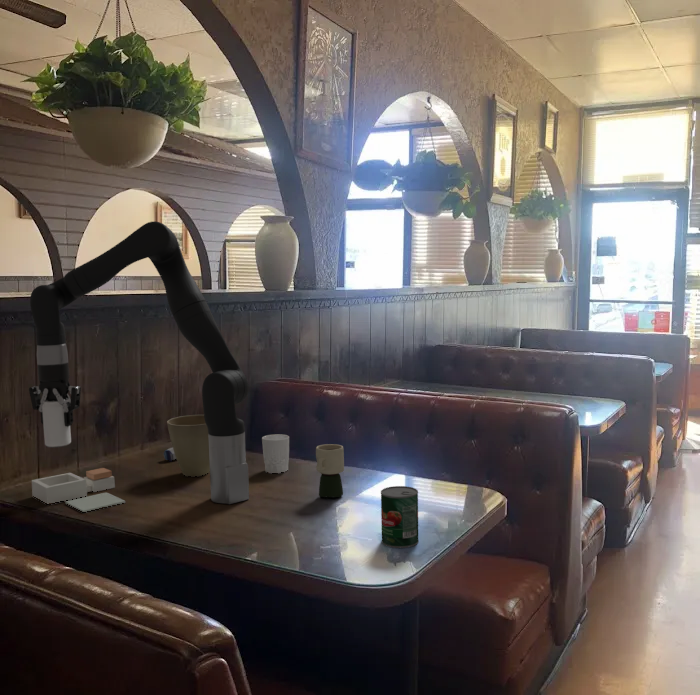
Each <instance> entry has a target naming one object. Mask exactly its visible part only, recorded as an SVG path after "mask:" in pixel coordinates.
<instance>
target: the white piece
mask: <svg viewBox="0 0 700 695" xmlns="http://www.w3.org/2000/svg"><path fill="white" fill-rule="evenodd" d="M115 482H116V481H115V476H113V475H112V476H111V477H106V478H102V479H97V480H93V479H91V478H88V477H86V476H83V477H82V476H78V475H76V474H74V473H72V472H67V473H62V474H56V475H52V476H45V477H42V478H41V477H40V478H36V479H31V490H32V491H31V493H32V494H31V495H32V497H33V496H34V497H36V498H38V499H40V500H41V501H43V502H45V503H47V504H49V503H55V502H59V503H61V502H60V501H64V502H65V501H66V500H68V501H70V500H72V499H73V500H74V499H76V498H77V499H79V498H80V497H82V498H83V497H85V496H86V497H88V492H92V491H93V492H92V493H97V491H98V492H102V491H106V489H107V490H110V489H111V490H112V489H115V488H116V484H115ZM34 497H33V498H34ZM36 498H35V499H36ZM41 501H40V502H41ZM43 502H42V503H43ZM45 503H44V504H45ZM55 504H56V503H55Z"/></svg>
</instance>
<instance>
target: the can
mask: <svg viewBox="0 0 700 695" xmlns="http://www.w3.org/2000/svg"><path fill="white" fill-rule="evenodd" d="M63 400H66V399H63ZM66 404H67V403H66ZM67 406H68V405H67ZM42 411H43V424H42V426H43V436H44V446H46V447H47V448H61V447H66V446H68V445H70V444H71V443H72V434H71V426H65V420H64V412H65V411H64V409H63V406H62V405H60V404H59V402H58V401H54V400H52V401H44V404H43V406H42Z"/></svg>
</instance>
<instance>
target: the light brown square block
mask: <svg viewBox="0 0 700 695" xmlns="http://www.w3.org/2000/svg"><path fill="white" fill-rule="evenodd" d="M85 474H86V476H85V477H88V478H91V479H93V480H97V479H102V478H106V477H111V476H113V475H112V474H113V472H112V470H110V469H108V468H105V467H100V468H95V469H91V470H86V471H85Z"/></svg>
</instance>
